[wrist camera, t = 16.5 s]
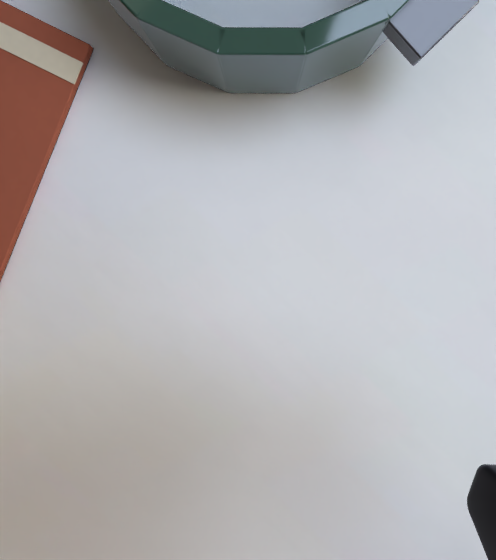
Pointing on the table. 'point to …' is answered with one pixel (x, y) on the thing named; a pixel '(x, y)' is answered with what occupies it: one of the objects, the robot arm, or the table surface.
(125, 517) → the table surface
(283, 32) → the green plastic ring
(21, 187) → the towel
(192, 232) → the table surface
